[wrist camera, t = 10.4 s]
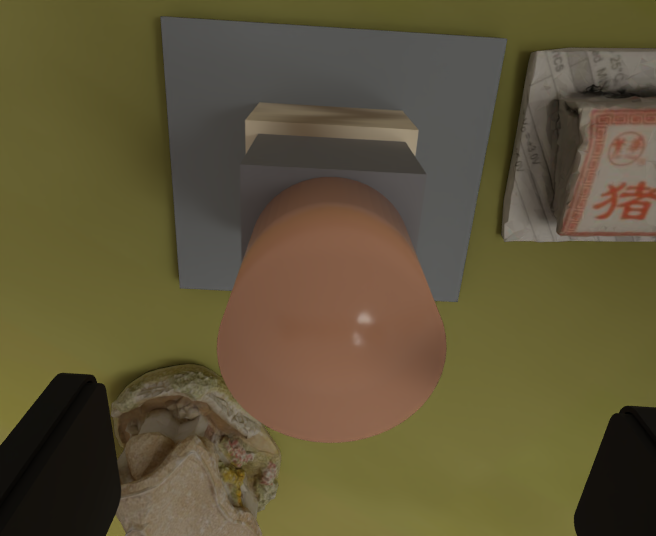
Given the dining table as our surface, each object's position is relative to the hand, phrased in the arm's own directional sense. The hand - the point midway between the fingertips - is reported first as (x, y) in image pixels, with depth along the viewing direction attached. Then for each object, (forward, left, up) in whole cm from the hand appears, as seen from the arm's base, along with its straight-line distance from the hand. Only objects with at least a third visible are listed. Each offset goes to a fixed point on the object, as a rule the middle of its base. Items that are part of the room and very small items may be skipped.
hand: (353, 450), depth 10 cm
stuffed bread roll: (+8, +20, -20) cm, 30 cm away
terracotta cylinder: (0, 0, -9) cm, 9 cm away
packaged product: (-18, -2, -21) cm, 28 cm away
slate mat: (0, 0, -20) cm, 20 cm away
